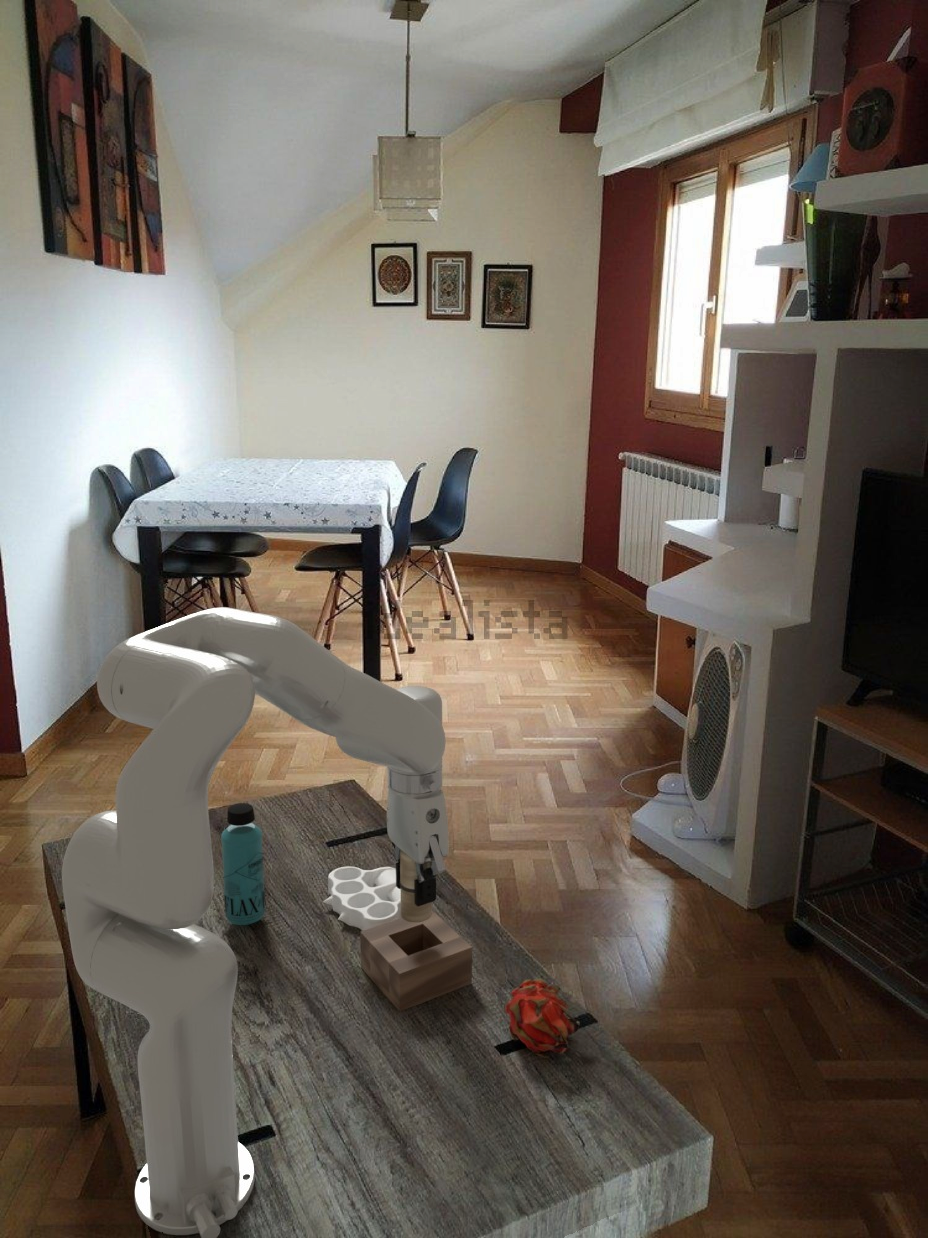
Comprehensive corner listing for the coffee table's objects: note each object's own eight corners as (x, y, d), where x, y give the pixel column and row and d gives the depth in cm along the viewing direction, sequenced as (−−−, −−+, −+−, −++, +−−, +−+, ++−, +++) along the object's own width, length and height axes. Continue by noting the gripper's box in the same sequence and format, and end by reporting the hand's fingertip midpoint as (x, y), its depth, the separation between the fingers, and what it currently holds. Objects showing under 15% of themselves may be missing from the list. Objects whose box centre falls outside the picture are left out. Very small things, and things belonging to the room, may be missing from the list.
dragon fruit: (519, 1019, 138) (563, 1086, 128) (478, 1005, 133) (520, 1073, 123) (556, 971, 137) (603, 1034, 127) (516, 955, 132) (561, 1020, 122)
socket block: (471, 983, 143) (472, 947, 141) (399, 1011, 137) (399, 974, 135) (429, 943, 152) (429, 908, 151) (361, 967, 146) (360, 931, 145)
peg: (438, 916, 141) (438, 853, 138) (410, 926, 139) (409, 862, 136) (422, 901, 145) (421, 840, 142) (394, 911, 143) (393, 848, 140)
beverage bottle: (217, 931, 155) (210, 814, 149) (236, 908, 161) (230, 795, 156) (256, 937, 153) (249, 819, 148) (274, 914, 160) (268, 800, 154)
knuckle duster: (437, 921, 159) (353, 948, 151) (386, 871, 173) (308, 894, 166) (437, 903, 158) (353, 929, 150) (386, 854, 173) (307, 876, 165)
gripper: (471, 793, 131) (470, 914, 136) (408, 749, 145) (409, 861, 150) (422, 806, 127) (423, 931, 132) (362, 760, 141) (365, 875, 146)
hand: (415, 893), depth 141 cm, fingers closed on peg, 4 cm apart
